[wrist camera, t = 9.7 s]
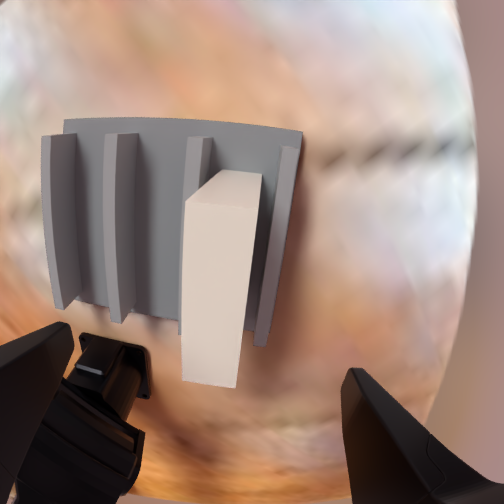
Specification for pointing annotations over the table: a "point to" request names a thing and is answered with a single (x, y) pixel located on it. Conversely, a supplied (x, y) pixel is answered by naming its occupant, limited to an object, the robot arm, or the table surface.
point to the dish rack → (156, 209)
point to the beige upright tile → (217, 275)
